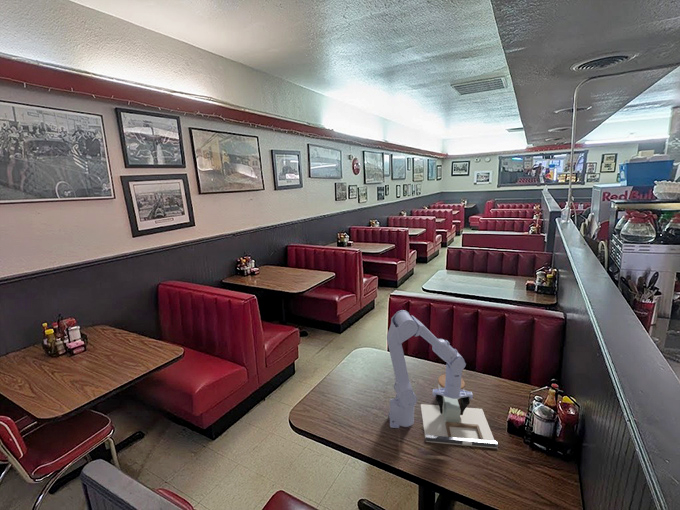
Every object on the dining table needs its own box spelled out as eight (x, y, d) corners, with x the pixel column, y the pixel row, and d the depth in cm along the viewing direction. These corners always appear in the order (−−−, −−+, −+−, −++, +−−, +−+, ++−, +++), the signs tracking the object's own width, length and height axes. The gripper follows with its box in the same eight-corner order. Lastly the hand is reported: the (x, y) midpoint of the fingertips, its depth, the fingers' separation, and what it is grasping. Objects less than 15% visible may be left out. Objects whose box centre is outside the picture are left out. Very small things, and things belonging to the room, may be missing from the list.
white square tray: (425, 443, 117) (425, 437, 117) (420, 405, 137) (420, 400, 136) (497, 450, 114) (498, 444, 114) (481, 410, 133) (482, 405, 133)
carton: (445, 422, 126) (446, 408, 125) (442, 408, 134) (443, 395, 132) (460, 423, 125) (461, 409, 124) (456, 409, 133) (457, 396, 132)
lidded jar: (458, 409, 134) (460, 388, 132) (433, 399, 141) (434, 379, 138) (467, 395, 143) (468, 376, 140) (442, 386, 149) (443, 367, 147)
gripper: (470, 376, 129) (468, 407, 132) (432, 374, 131) (430, 404, 134) (475, 388, 122) (472, 419, 125) (434, 385, 124) (432, 416, 127)
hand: (451, 412), depth 129 cm, fingers open, 7 cm apart
